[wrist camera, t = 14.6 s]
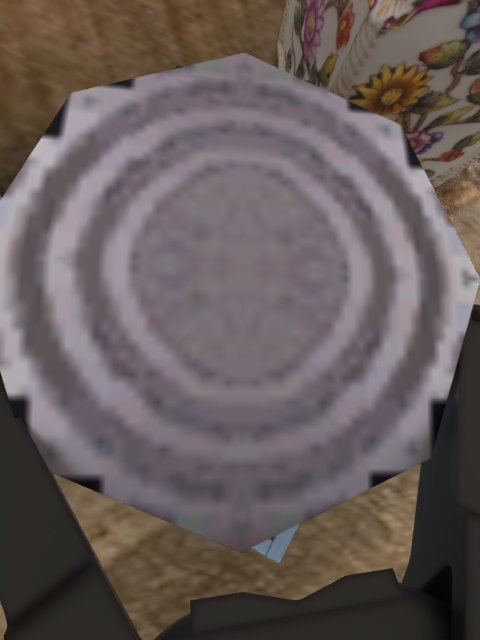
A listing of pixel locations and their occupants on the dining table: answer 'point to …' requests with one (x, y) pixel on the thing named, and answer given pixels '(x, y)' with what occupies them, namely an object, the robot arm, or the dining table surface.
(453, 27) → the decorative jar
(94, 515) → the dining table surface
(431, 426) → the can
